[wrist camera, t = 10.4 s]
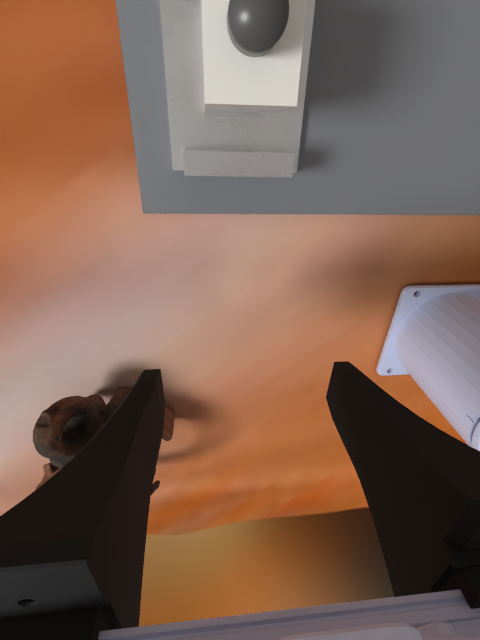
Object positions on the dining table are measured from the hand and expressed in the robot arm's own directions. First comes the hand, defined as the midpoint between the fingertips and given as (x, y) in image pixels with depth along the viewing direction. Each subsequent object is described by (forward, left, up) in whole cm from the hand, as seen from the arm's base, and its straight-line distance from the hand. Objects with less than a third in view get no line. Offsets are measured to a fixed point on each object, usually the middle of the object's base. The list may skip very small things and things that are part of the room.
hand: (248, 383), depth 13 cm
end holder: (0, -11, -9) cm, 14 cm away
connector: (0, -12, -8) cm, 14 cm away
